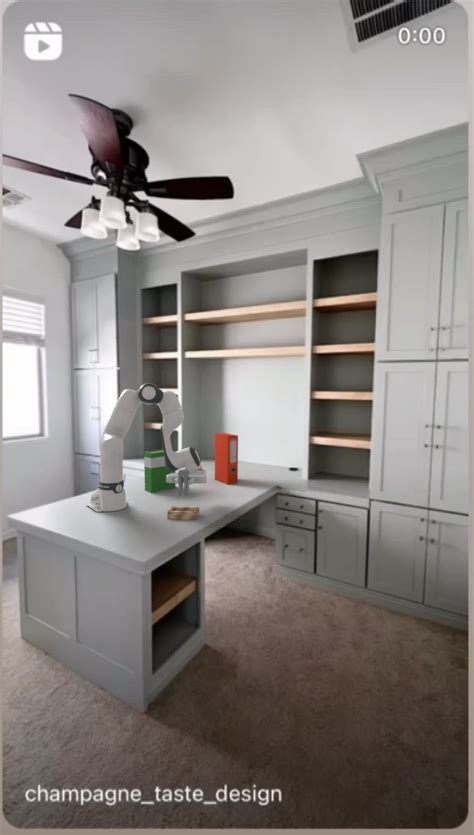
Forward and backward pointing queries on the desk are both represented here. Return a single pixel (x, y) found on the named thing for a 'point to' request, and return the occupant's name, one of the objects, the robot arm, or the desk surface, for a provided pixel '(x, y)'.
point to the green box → (156, 472)
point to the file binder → (226, 458)
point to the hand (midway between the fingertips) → (183, 482)
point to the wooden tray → (183, 512)
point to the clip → (186, 485)
